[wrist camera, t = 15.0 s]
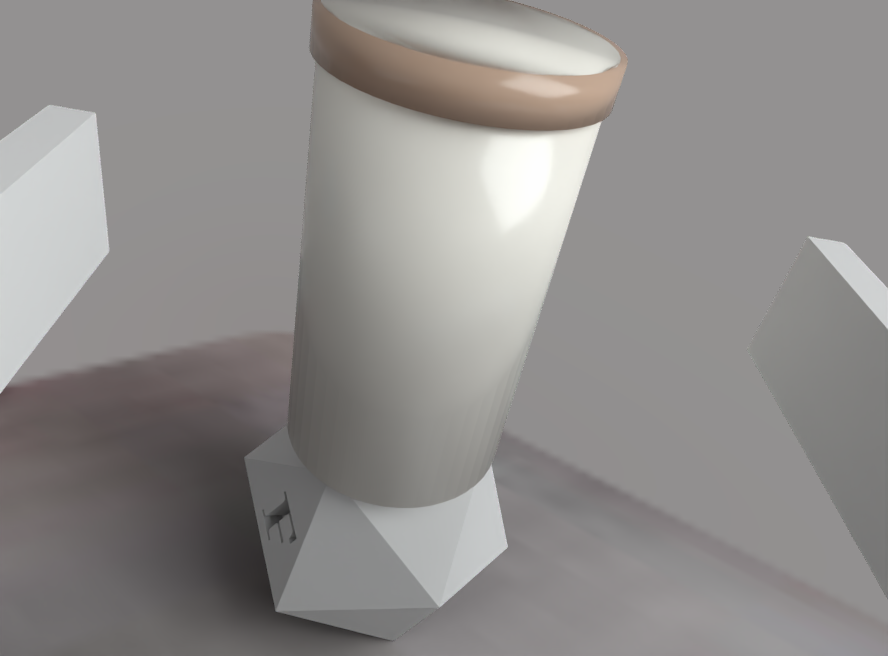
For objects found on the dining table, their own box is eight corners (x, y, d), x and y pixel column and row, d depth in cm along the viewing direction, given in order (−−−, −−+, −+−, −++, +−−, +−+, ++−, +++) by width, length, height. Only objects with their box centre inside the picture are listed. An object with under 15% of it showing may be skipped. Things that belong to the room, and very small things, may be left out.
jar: (257, 492, 19) (280, 28, 12) (305, 341, 25) (340, -36, 18) (504, 528, 20) (658, 104, 13) (497, 373, 25) (602, 18, 18)
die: (292, 469, 31) (171, 400, 22) (478, 396, 31) (428, 297, 22) (339, 669, 27) (216, 678, 19) (551, 589, 27) (526, 560, 18)
